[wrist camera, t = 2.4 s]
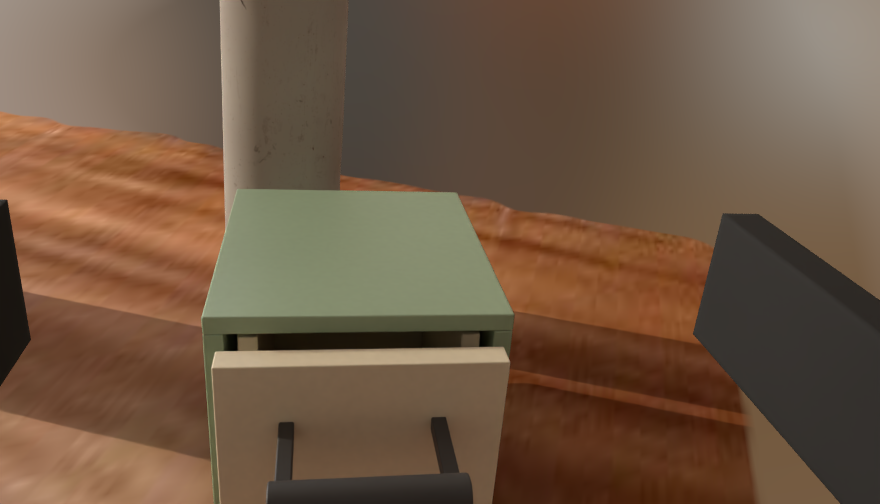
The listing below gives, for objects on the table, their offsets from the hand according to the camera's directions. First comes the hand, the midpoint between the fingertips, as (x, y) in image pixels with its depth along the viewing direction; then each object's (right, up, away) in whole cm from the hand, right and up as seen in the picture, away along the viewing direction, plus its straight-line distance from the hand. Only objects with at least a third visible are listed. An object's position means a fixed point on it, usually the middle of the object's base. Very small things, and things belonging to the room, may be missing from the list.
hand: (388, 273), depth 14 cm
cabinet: (-4, -9, +27) cm, 29 cm away
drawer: (-3, -10, +22) cm, 24 cm away
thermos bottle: (-11, -2, +42) cm, 43 cm away
